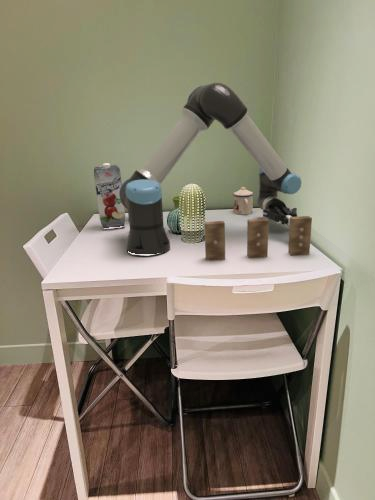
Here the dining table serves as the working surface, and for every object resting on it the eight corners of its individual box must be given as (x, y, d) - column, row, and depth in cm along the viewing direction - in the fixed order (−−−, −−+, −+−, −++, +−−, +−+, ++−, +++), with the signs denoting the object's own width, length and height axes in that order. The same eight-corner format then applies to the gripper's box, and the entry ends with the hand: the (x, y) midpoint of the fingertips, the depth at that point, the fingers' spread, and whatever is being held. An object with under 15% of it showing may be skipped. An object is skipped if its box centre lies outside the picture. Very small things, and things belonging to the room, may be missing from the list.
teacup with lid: (231, 210, 176) (231, 186, 172) (250, 209, 177) (250, 185, 173) (236, 217, 165) (236, 191, 161) (256, 215, 166) (257, 189, 162)
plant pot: (196, 216, 170) (196, 197, 167) (178, 219, 166) (177, 200, 163) (186, 212, 178) (186, 194, 175) (169, 215, 173) (168, 197, 170)
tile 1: (206, 260, 117) (205, 224, 113) (205, 257, 119) (204, 222, 115) (225, 259, 117) (224, 223, 113) (224, 256, 119) (223, 220, 115)
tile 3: (290, 255, 118) (292, 219, 113) (288, 252, 120) (290, 217, 116) (309, 254, 118) (312, 218, 114) (306, 251, 120) (309, 216, 116)
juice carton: (100, 226, 161) (92, 162, 152) (124, 223, 164) (118, 161, 154) (101, 231, 153) (92, 165, 144) (126, 228, 155) (120, 163, 146)
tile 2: (248, 258, 117) (249, 221, 113) (247, 255, 120) (247, 219, 116) (267, 257, 117) (268, 220, 113) (265, 254, 120) (266, 218, 116)
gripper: (290, 216, 147) (312, 233, 124) (257, 217, 146) (273, 236, 124) (291, 197, 144) (313, 212, 122) (258, 199, 144) (274, 214, 122)
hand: (293, 224), depth 123 cm, fingers closed
